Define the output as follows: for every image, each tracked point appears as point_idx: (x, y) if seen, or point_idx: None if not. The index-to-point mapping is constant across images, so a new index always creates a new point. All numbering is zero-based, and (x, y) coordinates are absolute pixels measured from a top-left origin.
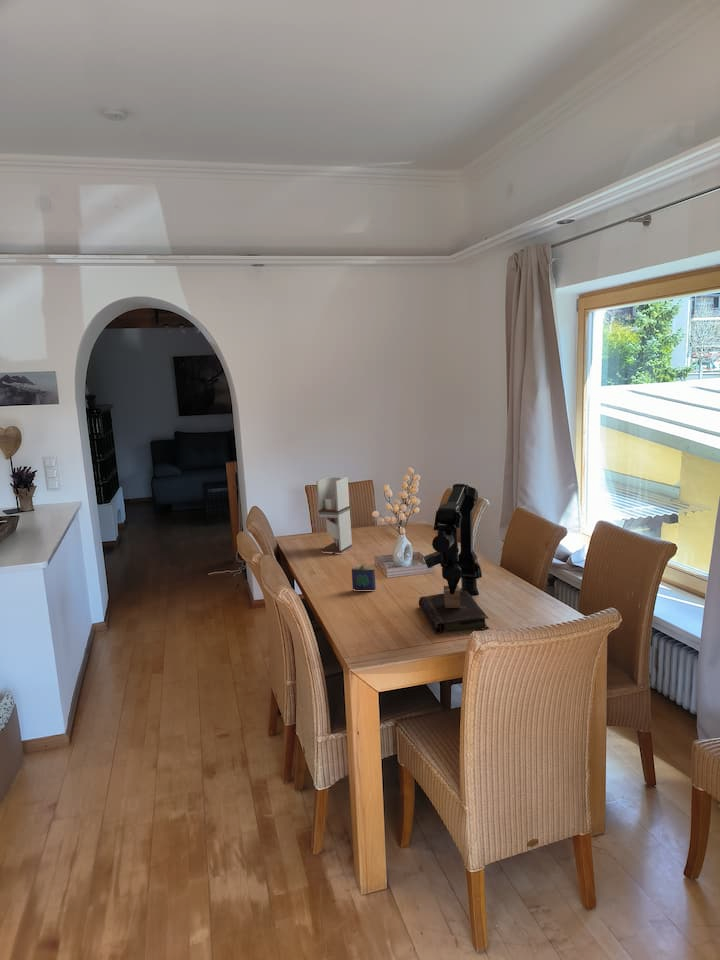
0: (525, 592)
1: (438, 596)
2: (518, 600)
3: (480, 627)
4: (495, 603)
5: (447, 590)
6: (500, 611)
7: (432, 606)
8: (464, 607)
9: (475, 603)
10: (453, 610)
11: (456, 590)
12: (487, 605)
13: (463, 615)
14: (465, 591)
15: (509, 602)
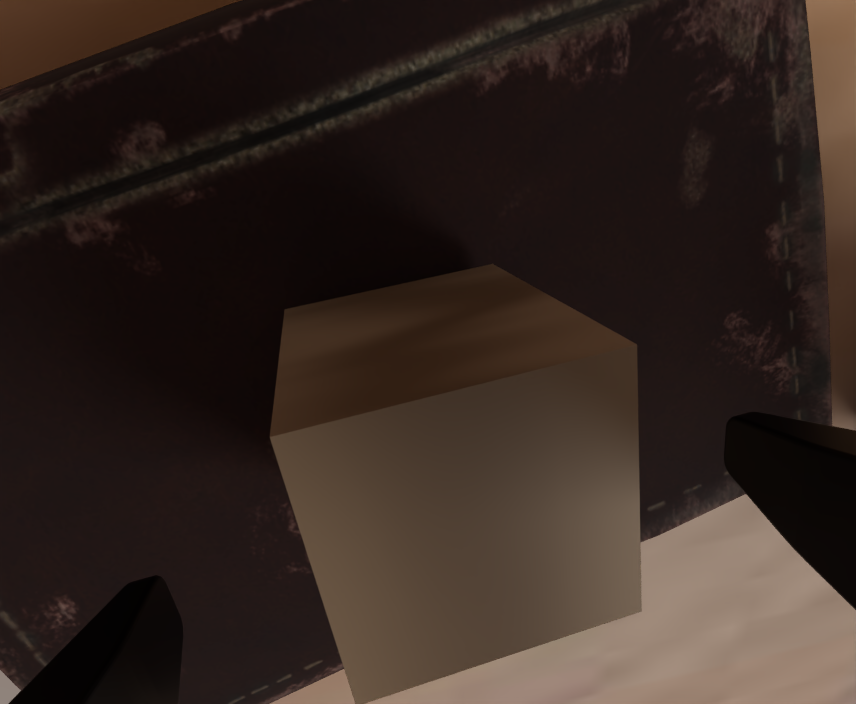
0: (831, 698)
1: (757, 143)
2: (716, 697)
3: None
4: (684, 591)
5: (328, 489)
6: (534, 651)
7: (407, 87)
8: None
9: None
10: (263, 413)
11: (353, 653)
12: (653, 551)
13: (95, 561)
14: None
15: (691, 662)
